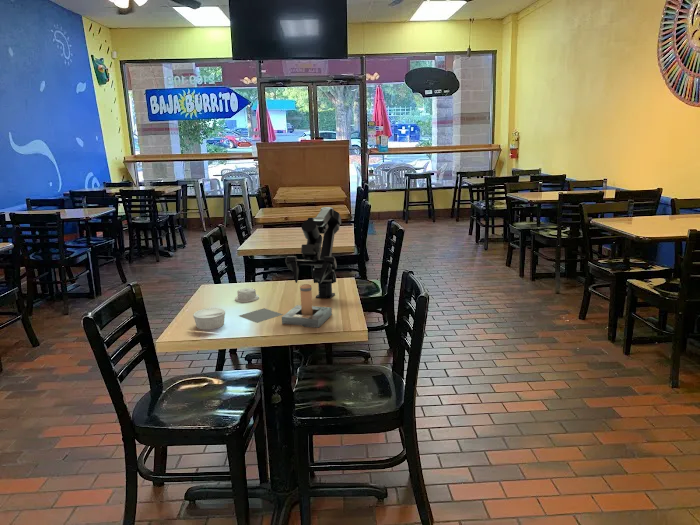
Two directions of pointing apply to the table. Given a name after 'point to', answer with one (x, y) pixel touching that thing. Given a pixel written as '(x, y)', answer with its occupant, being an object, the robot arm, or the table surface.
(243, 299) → the mechanical component
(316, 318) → the flange plate
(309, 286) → the peg
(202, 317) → the ramekin
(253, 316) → the mat
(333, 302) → the table surface
